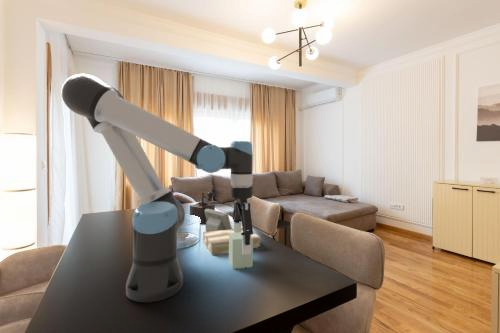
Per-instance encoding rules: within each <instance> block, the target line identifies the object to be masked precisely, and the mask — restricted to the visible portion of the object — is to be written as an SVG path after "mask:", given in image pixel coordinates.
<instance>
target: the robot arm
mask: <svg viewBox="0 0 500 333" xmlns="http://www.w3.org/2000/svg"><path fill="white" fill-rule="evenodd" d="M61 97H62V101H63V102H64V104H65V105H66V107H67V108H68V109H69V110H70V111H72V112H73V113H75V114H77V115H80V116H82V117H85V118H86V120H87V121H88V123H89V125H90V126H91V127H92V129H93V131H94V132H95V133H99V134H101V135H102V136H103V138H104V140H105V141H106V143H107V145H108V147H109V149H110V150H111V153H112V154H113V156H114V158H115V160H116V161H117V163H118V165H119V168H121V170H122V172H123V174H124V175H125V177H126V179H127V181H128V183H129V184H130V186H131V188H132V189H133V192H134V193H135V195H136V197H137V199H138V204H137V207H136V208H135V209H134V210H133V213H132V219H131V225H132V265H131V268H130V271H129V274H128V276H127V280H126V283H125V296H126V297H127V299H129V300H131V301H133V302H136V303H153V302H154V303H155V302H159V301H163V300H166V299H169V298H171V297H173V296H174V295H176V294H178V293H179V292H180V291H181V290H182V288H183V285H184V275H183V272H182V269H181V266H180V263H179V260H178V233H179V231H180V228H181V227H182V226H183V224H184V221H185V209H184V208H185V207H184V206H183V204H182V203H181V202H180V201H179V200H178V199H176V197H175V195H174V193H173V192H172V190H171V189H169V188H166V187H164V185H163V183H162V181H161V180H160V178H159V176H158V174H157V172H156V170H155V169H154V167H153V165H152V163H151V162H150V159H149V157H148V155H147V154H146V152H145V150H144V148H143V146H142V145H141V143H140V141H139V139H142V140H143V141H145V142H148V143H150V144H151V145H153V146H156V147H158V148H159V149H162V150H163V151H166V152H168V153H170V154H172V155H174V156H176V157H178V158H180V159H182V160H184V161H187V162H188V163H190V164H192V165H194V166H195V168H196V169H197V170H202V171H203V172H205V173H208V174H209V173H210V174H214V173H217V172H219V171H221V170H230V185H231V187H230V197H231V198H232V199H233V201H234V202H233V212H232V220H233V229H234V233H239V232H241V228H242V229H243V233H241V235H242V254H243V255H245V254H251V234H253V232H254V229H253V222H252V214H251V213H252V212H251V211H252V210H251V203H250V202H248V199H251V198H252V197H253V195H254V194H253V188H254V187H253V180H254V176H253V160H254V158H253V157H254V155H253V144H252V142H251V141H245V140H240V141H239V140H237V141H235V140H234V141H231V142H230V145H229V146H227V147H226V146H225V147H224V146H223V147H222V146H220V147H219V146H217V145H215V144H212V143H210V142H208V141H206V140H204V139H202V138H201V137H198V136H197V135H195V134H192V133H191V132H189V131H187V130H185V129H182V128H181V127H178V126H177V125H175V124H173V123H171V122H170V121H168V120H165V119H163V118H161V117H159V116H157V115H155V114H154V113H152V112H150V111H148V110H146V109H145V108H143V107H140V106H138V105H136V104H134V103H132V102H130V101H128V100H126V99H125V97H124V96H123V94H122V93H120V91H119V90H117V89H116V88H115V87H112V85H111V86H110V85H108V84H107V82H104V81H102V80H101V79H100V78H98V77H96V76H94V75H91V74H86V73H79V74H78V73H77V74H74V75H72V76H70V77H68V78H67V79H65V81H64V83H63V84H62V87H61ZM138 138H139V139H138ZM247 230H249V231H247Z"/></svg>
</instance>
